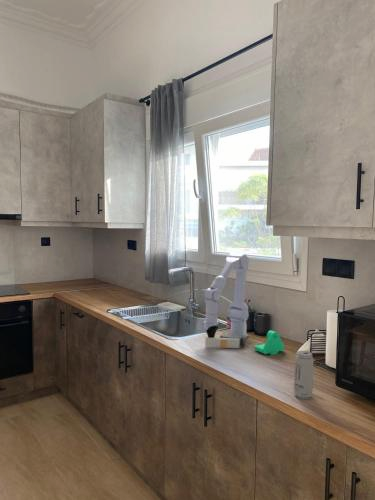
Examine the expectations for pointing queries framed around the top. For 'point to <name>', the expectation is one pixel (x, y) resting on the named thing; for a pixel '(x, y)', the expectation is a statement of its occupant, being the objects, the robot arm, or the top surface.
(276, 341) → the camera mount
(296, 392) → the energy drink can
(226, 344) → the door
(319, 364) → the top surface
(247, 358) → the top surface
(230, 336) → the block
